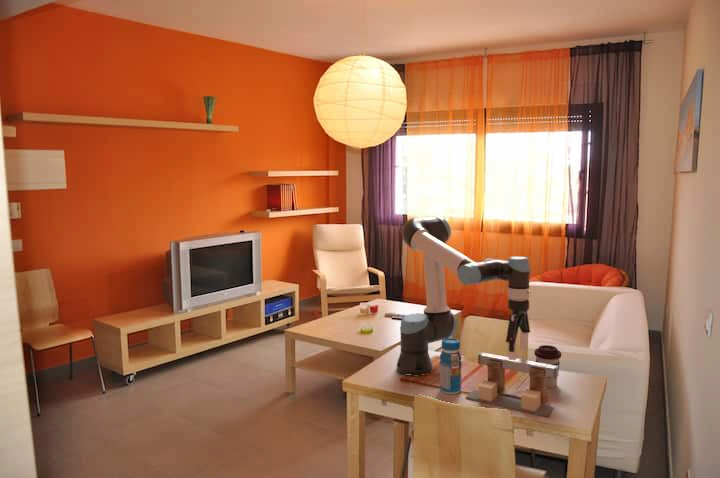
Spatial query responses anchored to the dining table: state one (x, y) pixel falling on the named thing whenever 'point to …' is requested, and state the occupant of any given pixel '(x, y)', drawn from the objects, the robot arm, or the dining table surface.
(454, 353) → the beverage bottle
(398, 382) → the dining table surface
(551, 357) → the coffee cup
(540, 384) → the pair of wooden supports
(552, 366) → the rail
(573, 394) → the dining table surface
